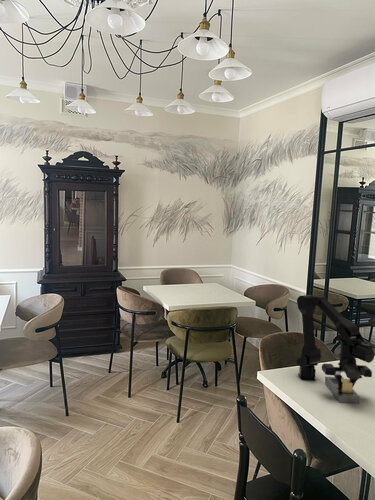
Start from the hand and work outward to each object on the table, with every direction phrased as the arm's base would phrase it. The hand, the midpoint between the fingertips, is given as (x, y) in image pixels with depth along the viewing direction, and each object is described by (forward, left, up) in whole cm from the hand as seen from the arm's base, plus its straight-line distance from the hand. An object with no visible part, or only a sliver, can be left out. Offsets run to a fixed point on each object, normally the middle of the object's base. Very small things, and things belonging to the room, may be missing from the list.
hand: (345, 389), depth 149 cm
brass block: (0, 0, -1) cm, 1 cm away
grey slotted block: (0, +4, -4) cm, 6 cm away
